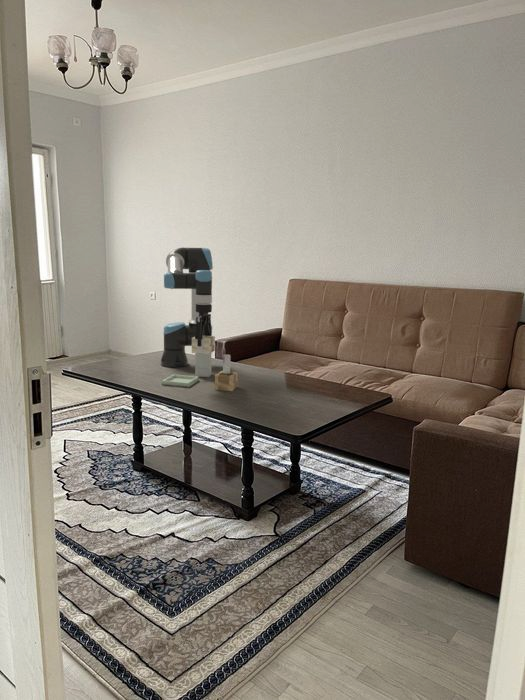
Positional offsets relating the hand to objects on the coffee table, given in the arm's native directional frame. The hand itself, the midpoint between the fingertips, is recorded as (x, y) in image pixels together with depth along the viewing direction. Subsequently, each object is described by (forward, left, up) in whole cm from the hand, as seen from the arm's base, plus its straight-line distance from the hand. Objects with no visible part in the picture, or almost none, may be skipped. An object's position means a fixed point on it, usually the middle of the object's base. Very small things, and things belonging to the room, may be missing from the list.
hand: (203, 351), depth 258 cm
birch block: (0, 0, 0) cm, 0 cm away
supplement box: (-20, -7, -17) cm, 27 cm away
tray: (-2, -13, -17) cm, 21 cm away
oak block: (0, +12, -17) cm, 21 cm away
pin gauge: (0, +12, -17) cm, 21 cm away
